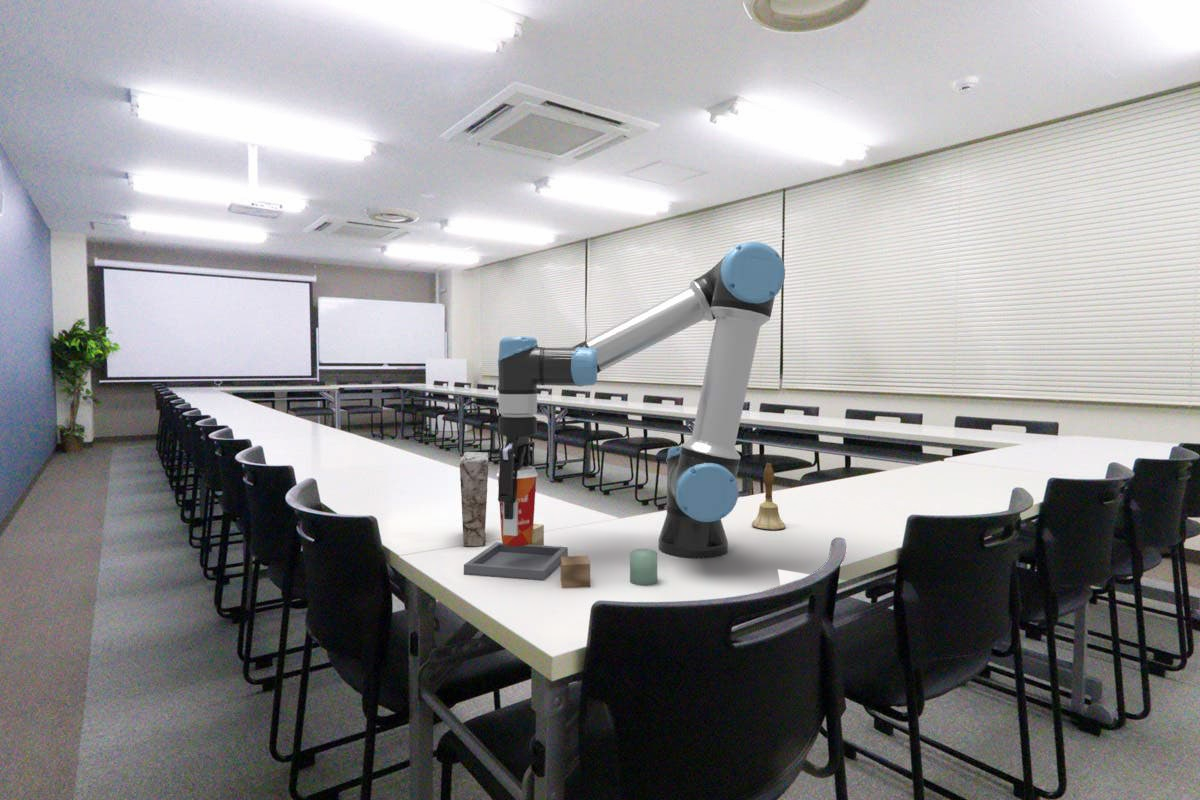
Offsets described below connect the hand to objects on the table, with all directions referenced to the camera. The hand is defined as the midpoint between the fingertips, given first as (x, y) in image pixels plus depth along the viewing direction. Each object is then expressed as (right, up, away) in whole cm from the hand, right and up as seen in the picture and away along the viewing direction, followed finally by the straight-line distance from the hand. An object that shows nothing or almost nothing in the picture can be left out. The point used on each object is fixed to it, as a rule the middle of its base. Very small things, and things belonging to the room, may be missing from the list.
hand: (517, 529), depth 125 cm
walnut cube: (+12, -8, -11) cm, 18 cm away
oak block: (0, -7, +15) cm, 16 cm away
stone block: (-13, -7, +21) cm, 25 cm away
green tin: (+25, -8, -9) cm, 27 cm away
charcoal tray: (0, -8, 0) cm, 8 cm away
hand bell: (+59, -6, +35) cm, 69 cm away
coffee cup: (0, -3, 0) cm, 3 cm away
